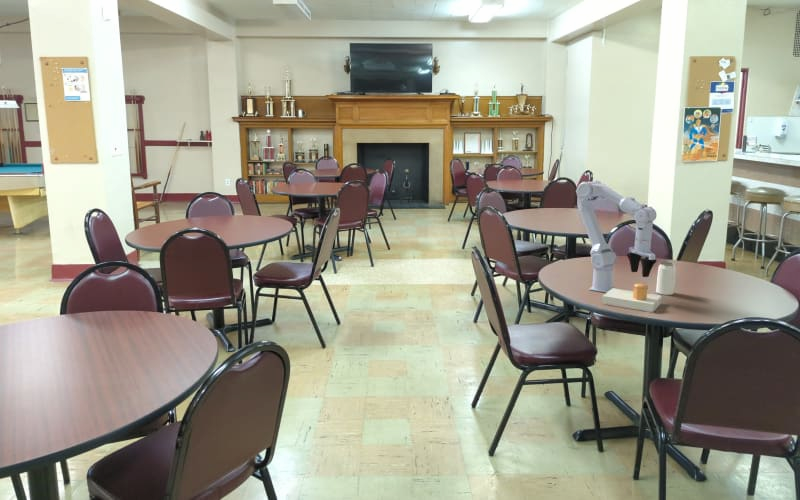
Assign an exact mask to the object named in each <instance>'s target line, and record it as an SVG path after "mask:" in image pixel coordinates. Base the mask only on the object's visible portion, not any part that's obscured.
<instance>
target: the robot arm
mask: <svg viewBox="0 0 800 500" xmlns="http://www.w3.org/2000/svg"><path fill="white" fill-rule="evenodd" d="M575 192H576V196H577V202H576V204H577V205H576V207H577V209H578V212H579V214H580V215H579V216H580V217H581V221H582V222H583V225H584V226H583V227H584V228H585V231H586V233H587V236H588V239H589V242H590V245H591V250H590V252H589V254H590V262H591V265H592V268H593V273H592V286H591V287H589V288H588V290H589V291H594V292H601V293H605V294H606V293H607V292H608V291H610V290H611V289H612V288H616V287H615V286H614V278H615V277H614V275H615V272H614V265H615V264H616V263H617V261H618V257H617V253H616V252H614V250H613V249H612V246H611V245H610V244H608V243H607V242H606V239H605V236H604V235H603V234H604V233H603V232H602V229H601V227H600V223H599V220H598V218H597V215H596V213H595V210H594V208H593V206H594V204H595V202H596V201H597V200H598V199H599V197H603V198H605V199H607V200H609V201H611V202H613V203H614V204H616V205H618V207H619V209H620V211H622V212H624V213H625V214H627V215H628V216H630V217H632V218H633V219H634V221H635V236H634V237H635V238H634V246H629V247H628V253H626V256H627V258H628V262H629V266H630V270H631V273H637V272H638V270H639V266H640V263H641V273H642V274H641V275H642V278H648V277H649V276H650V273H651V271H652V268H653V266H654V265H655V264H656V262H657V259H656V254H655V253H653V252H652V251H651V245H652V235H653V226H654V221H655V220H656V218H657V211H656V210H655V209H654V208H653V206H646V204H644V203H640V202H639V201H636V200H635V199H636V198H635V197H633V196H631V197H630V196H626V197H624V196H623V195H621V194H620V193H618V192H616V191H615V190H613V189H612V188H610V186H607V184H606V183H602V182H601V181H599V180H593V181H582V182H580V183H579V184H578V186H577V188H576V189H575Z"/></svg>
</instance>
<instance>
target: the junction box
mask: <svg viewBox="0 0 800 500" xmlns="http://www.w3.org/2000/svg"><path fill="white" fill-rule="evenodd" d="M633 291H634V290H628V289H624V288H623V289H622V288H616V287H615V288H612V289H611V290H610V291H608V292H607V293H606V292H605V294H603V295H602V297H601V304H603V305H608V306H613V307H617V308H618V307H619V308H625V309H632V310H636V311H642V312H643V311H644V312H648V313H653V312H654V311H656V309H658V307H659V306H660V305H661V304H662V300H663V299H662V297H663V295H661V294H654V293H648V292H647V299H646V300H636V299H634V298H633Z"/></svg>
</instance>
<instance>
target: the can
mask: <svg viewBox="0 0 800 500" xmlns="http://www.w3.org/2000/svg"><path fill="white" fill-rule="evenodd" d="M657 268H658V270H657V277H656V287H655V288H656V289H655V292H656V293H657V295H661V296H672V295H674V292H675V283H676V275H677V274H676V273H677V267H676V263H673V262H670V261H669V262H668V261H662V262H660V263H659V265H658V267H657Z"/></svg>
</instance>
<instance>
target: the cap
mask: <svg viewBox="0 0 800 500" xmlns="http://www.w3.org/2000/svg"><path fill="white" fill-rule="evenodd" d="M648 287H649V286H648V285H647V284H646V283H645V284H644V283H634V286H633V290H632V291H633V298H634V299H636V300H646V299H647V293H648Z"/></svg>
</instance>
